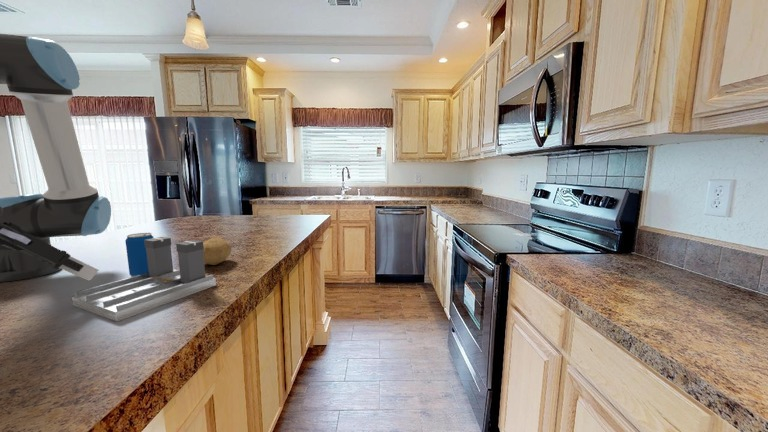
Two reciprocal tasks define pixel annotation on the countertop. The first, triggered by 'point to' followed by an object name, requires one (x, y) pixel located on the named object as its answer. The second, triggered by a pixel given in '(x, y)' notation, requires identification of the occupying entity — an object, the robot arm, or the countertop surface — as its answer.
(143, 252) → the beverage can
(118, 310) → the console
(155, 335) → the countertop surface
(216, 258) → the potato
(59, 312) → the countertop surface
